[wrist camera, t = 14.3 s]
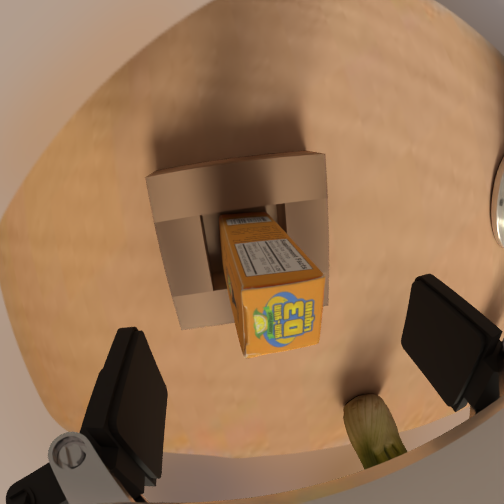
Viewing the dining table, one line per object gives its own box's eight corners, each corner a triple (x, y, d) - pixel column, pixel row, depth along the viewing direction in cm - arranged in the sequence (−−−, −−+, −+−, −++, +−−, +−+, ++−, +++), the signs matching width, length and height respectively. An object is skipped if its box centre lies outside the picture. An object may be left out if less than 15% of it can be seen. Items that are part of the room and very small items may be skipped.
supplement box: (272, 255, 20) (321, 351, 11) (221, 260, 20) (234, 364, 11) (271, 208, 19) (329, 278, 10) (217, 211, 19) (227, 289, 9)
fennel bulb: (330, 409, 30) (365, 493, 19) (359, 383, 28) (405, 467, 17) (359, 416, 31) (394, 488, 20) (386, 392, 30) (430, 463, 19)
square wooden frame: (303, 150, 19) (325, 153, 16) (310, 279, 23) (328, 305, 19) (158, 169, 18) (145, 177, 15) (184, 299, 22) (181, 330, 19)
